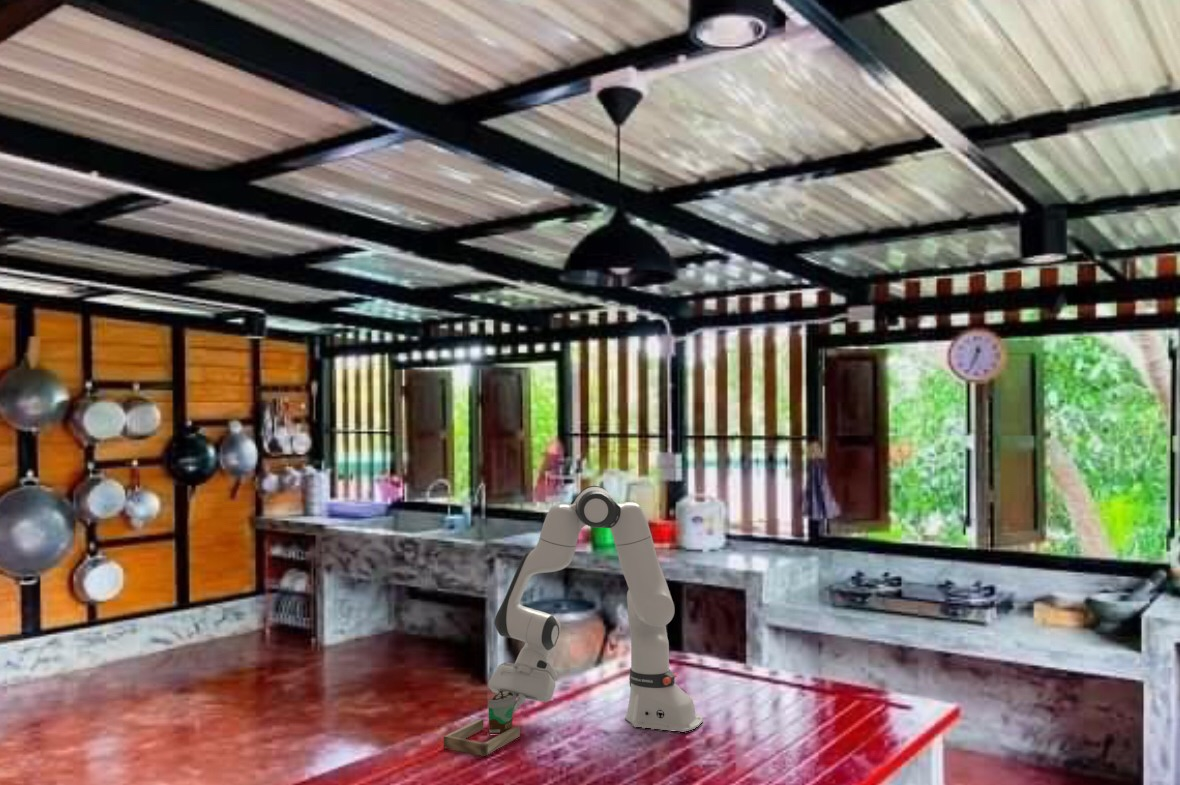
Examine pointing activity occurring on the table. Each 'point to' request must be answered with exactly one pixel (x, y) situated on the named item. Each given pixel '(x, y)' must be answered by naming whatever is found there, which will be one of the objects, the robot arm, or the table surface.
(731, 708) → the table surface
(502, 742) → the wooden u-shaped frame
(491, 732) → the food container
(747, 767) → the table surface
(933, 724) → the table surface
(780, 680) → the table surface
